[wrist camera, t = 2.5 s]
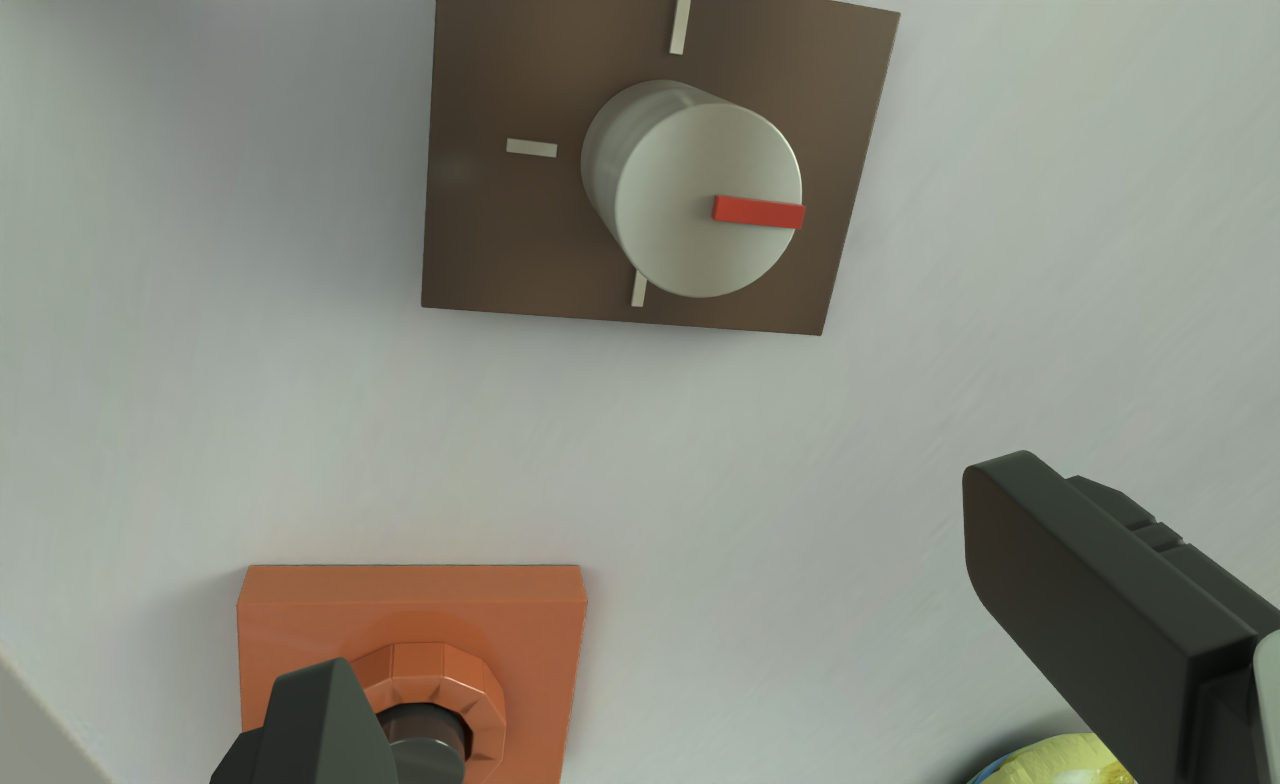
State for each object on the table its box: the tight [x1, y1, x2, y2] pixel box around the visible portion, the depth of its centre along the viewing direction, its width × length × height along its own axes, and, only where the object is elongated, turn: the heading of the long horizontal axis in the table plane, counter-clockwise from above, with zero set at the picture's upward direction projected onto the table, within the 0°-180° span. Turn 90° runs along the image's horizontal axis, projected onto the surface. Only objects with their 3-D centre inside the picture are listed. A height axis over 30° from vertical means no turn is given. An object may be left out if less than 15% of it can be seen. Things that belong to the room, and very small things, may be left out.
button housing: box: [236, 566, 588, 784], centre depth 32 cm, size 12×10×4 cm
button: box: [376, 702, 466, 784], centre depth 30 cm, size 4×4×2 cm
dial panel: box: [421, 0, 901, 336], centre depth 26 cm, size 13×10×3 cm
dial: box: [581, 80, 805, 298], centre depth 23 cm, size 5×5×6 cm
